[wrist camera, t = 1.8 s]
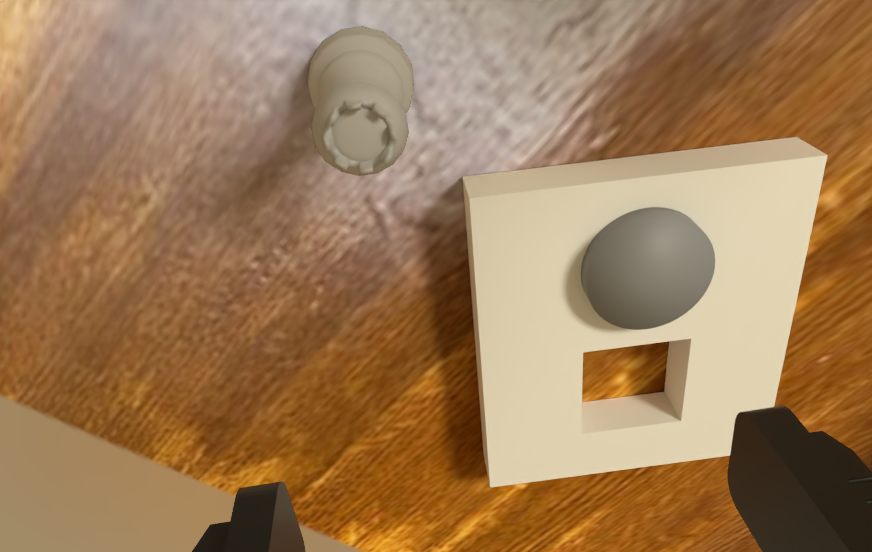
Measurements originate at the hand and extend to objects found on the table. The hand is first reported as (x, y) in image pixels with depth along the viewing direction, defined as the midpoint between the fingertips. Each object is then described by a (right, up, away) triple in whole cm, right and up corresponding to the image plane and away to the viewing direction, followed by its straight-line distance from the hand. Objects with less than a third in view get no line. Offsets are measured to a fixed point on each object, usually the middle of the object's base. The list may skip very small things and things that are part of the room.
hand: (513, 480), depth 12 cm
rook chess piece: (-5, +12, +17) cm, 22 cm away
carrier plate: (+9, +2, +24) cm, 26 cm away
